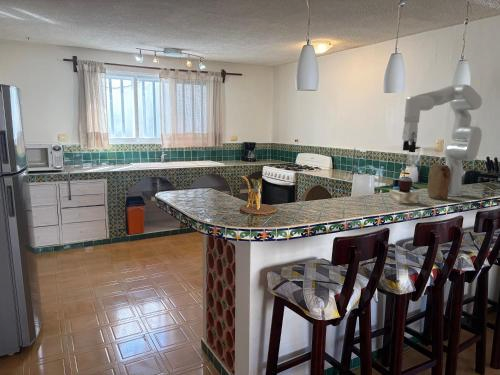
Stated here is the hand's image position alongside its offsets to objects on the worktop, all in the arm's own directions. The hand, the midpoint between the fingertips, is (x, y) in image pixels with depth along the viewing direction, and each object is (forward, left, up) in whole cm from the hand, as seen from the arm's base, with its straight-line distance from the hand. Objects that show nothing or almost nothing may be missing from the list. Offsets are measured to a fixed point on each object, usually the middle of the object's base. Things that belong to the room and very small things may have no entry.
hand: (408, 151), depth 202 cm
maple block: (+1, +1, -29) cm, 29 cm away
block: (-23, -10, -28) cm, 38 cm away
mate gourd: (+1, +2, -23) cm, 23 cm away
